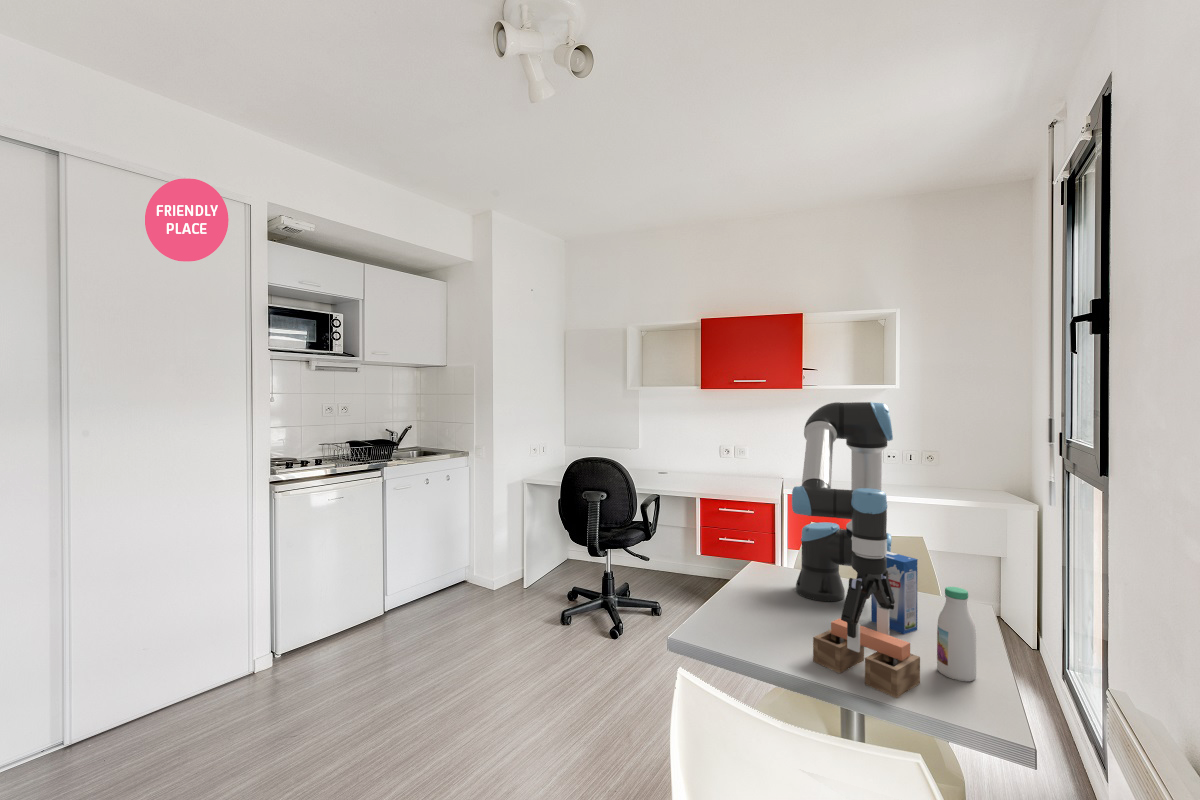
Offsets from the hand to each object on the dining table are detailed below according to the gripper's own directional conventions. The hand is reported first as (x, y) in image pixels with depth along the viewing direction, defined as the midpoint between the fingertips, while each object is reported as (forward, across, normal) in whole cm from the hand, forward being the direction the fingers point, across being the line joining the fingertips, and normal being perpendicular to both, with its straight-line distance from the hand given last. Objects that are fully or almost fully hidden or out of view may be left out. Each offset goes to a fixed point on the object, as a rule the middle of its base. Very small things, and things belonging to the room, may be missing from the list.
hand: (868, 642), depth 128 cm
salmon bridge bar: (+5, 0, 0) cm, 5 cm away
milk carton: (+7, -30, -9) cm, 33 cm away
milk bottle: (+7, -14, +13) cm, 21 cm away
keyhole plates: (+6, +2, 0) cm, 7 cm away
